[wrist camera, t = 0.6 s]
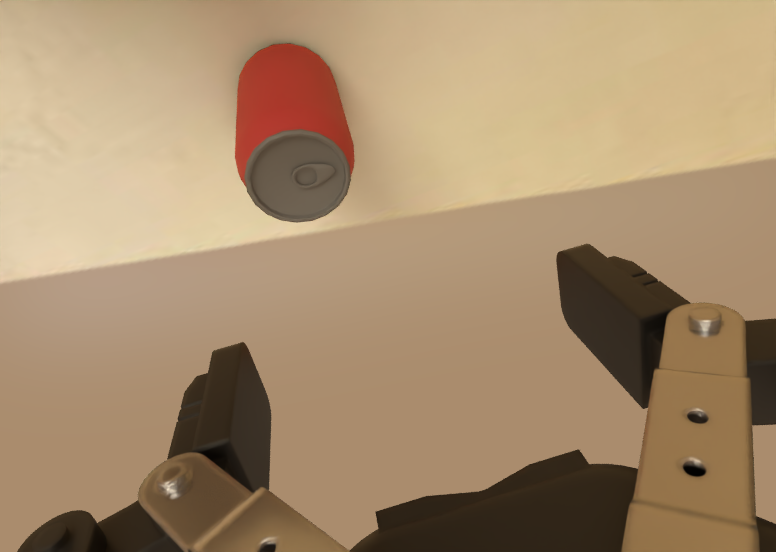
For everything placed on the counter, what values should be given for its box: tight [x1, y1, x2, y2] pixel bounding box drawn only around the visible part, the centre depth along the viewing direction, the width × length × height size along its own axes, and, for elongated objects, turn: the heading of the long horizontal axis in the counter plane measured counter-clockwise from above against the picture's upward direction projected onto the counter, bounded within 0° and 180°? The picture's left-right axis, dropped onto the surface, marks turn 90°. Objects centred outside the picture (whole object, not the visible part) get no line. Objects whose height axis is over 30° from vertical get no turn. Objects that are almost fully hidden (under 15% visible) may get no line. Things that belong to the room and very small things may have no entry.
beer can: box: [235, 44, 355, 222], centre depth 34 cm, size 7×7×12 cm
